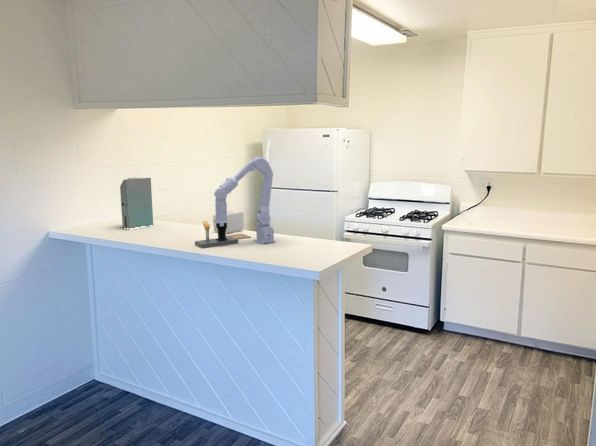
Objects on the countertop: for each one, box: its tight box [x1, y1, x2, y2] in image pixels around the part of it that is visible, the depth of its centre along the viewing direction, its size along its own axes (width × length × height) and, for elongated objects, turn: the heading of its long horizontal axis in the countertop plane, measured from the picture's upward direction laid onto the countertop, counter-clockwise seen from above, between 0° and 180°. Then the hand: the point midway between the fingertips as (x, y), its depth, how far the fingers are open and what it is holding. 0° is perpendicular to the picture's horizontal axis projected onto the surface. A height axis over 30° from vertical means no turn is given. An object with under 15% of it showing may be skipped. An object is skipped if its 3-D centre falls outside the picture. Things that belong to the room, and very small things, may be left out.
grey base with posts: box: [194, 229, 239, 249], centre depth 250 cm, size 9×20×8 cm, turn 125°
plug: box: [217, 231, 227, 241], centre depth 252 cm, size 4×4×8 cm
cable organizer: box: [212, 209, 245, 234], centre depth 284 cm, size 15×11×12 cm
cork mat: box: [226, 233, 252, 240], centre depth 268 cm, size 11×11×1 cm
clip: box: [202, 220, 211, 230], centre depth 252 cm, size 13×3×2 cm, turn 15°
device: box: [119, 177, 154, 229], centre depth 296 cm, size 16×8×30 cm, turn 141°
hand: (221, 237), depth 252 cm, fingers closed on plug, 4 cm apart
